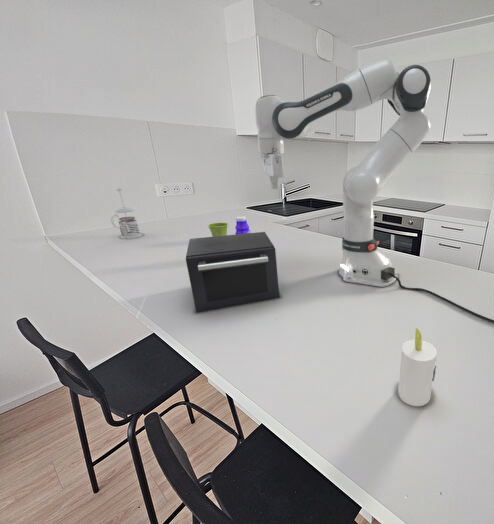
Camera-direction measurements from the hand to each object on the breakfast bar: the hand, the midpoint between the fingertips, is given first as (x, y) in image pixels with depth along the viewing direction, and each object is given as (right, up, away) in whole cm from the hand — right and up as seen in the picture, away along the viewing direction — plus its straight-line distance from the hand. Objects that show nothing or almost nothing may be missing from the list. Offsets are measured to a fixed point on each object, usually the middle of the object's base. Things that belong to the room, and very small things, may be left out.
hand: (274, 188), depth 109 cm
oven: (-10, -37, -9) cm, 39 cm away
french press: (-90, -13, +49) cm, 103 cm away
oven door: (-5, -41, -19) cm, 45 cm away
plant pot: (-39, -16, +43) cm, 60 cm away
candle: (+41, -53, -50) cm, 84 cm away
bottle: (-19, -24, +23) cm, 38 cm away
